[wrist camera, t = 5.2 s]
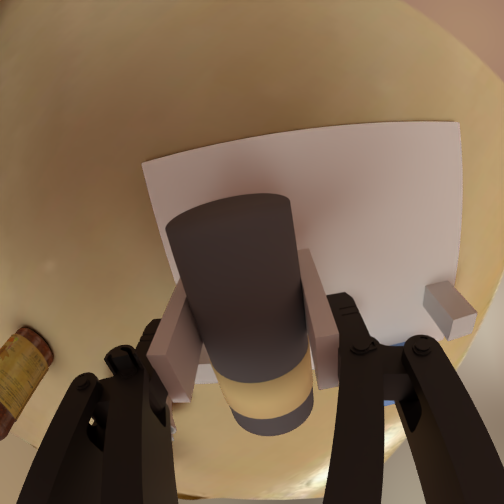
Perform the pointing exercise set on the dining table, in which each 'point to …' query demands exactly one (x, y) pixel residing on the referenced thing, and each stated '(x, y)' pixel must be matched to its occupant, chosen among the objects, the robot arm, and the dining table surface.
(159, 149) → the dining table surface
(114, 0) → the dining table surface
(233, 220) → the banded cylinder post
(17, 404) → the sauce bottle
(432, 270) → the white base plate
